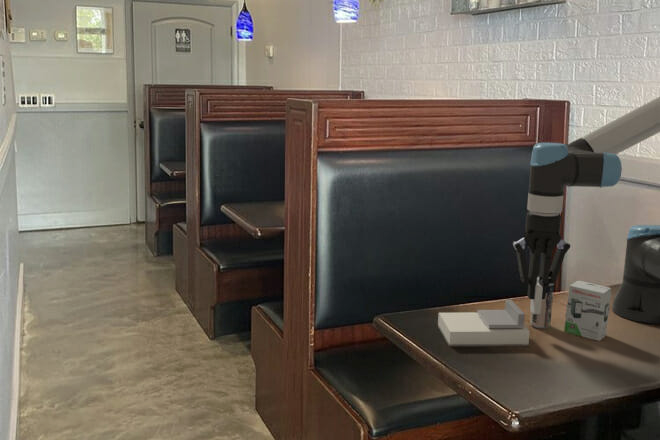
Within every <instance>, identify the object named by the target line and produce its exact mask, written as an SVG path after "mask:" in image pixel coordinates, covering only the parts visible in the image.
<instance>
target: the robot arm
mask: <svg viewBox="0 0 660 440" xmlns="http://www.w3.org/2000/svg"><path fill="white" fill-rule="evenodd" d="M659 133H660V96H658V97H656V98H655V99H653V100H651V101H649V102H646V103H645V104H643V105H641V106H639V107H637V108H635V109H634V110H633V109H632V110H631V111H629V112H628V113H626V114H623V115H621V116H620V117H618V118H616V119H614V120H612V121H610V122H608V123H606V124H605V125H602V126H601V127H599V128H597V129H595V130H593V131H590V132H589V133H588V134H585V135H584V136H581V137H580V138H578V139H576V140H574V141H572V142H570V143H568V144H567V143H560V142H538V143H535V144H534V146H533V148H532V151H531V158H530V162H529V166H530V170H529V184H528V195H527V206H526V209H527V211H528V212H526V217H525V231H524V233H523V235H522V238H520V239H519V240H517V241H516V240H513V241H512V243H511V244H512V246H513V248H514V250H515V253H516V258H517V265H518V272H519V276H520V280H521V281H522V282H523V283H524V284H526V285H527V298H528V299H529V300H530V305H529V307H530V308H529V311H530V313H531V312H532V313H533V314H540V312H541V301H542V299H545V297H546V288H547V287H548V286H549V284H554V285H555V284H556V281H557V279H558V276H559V273H560V271H561V267H562V265H563V262H564V259H565V256H566V254H567V253H568V251H569V250H570V248H571V244H570V243H568V242H567V241H564V240H563V239H562V235H561V232H560V231H561V224H562V215H561V213H562V212H563V204H564V195H565V187H570V188H571V187H579V188H580V187H581V188H582V187H587V188H588V187H590V188H605V187H607V188H609V187H614V186H616V185H617V184H618V182H619V181H620V180H621V177H622V172H623V171H622V170H623V168H622V160H621V159H620V157H619V155H618V154H620V153H622V152H624V151H625V150H628V149H630V148H633V146H636V145H638V144H639V143H641V142H643V141H645V140H647V139H649V138H651V137H653V136H655V135H656V134H659ZM525 245H526V246H527V248H528V249H529V266H527V265H528V264H527V258H526V253H525V250H524V249H525V248H526V246H525ZM555 248H556V249H555ZM553 250H555V253H554V256H553V259H552V261H551V258H552V253H553ZM624 256H625V257H624V258H625V259H624V267H623V275H622V276H623V277H622V282H621V284H620V285H619V288H618V290H617V292H616V294H615V296H614V298H613V299H612V305H611V306H612V307H611V310H612V312H613V313H615V314H616V315H618V316H620V317H622V318H625V319H628V320H631V321H635V322H639V323H645V324H657V325H659V324H660V225H658V224H635V225H632V226H631V227H630V228H629V230H628V233H627V238H626V249H625V255H624ZM539 261H540V262H539ZM550 263H551V264H550ZM539 265H540V266H539ZM538 273H539V274H538ZM538 276H539V283H537V277H538Z"/></svg>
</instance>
